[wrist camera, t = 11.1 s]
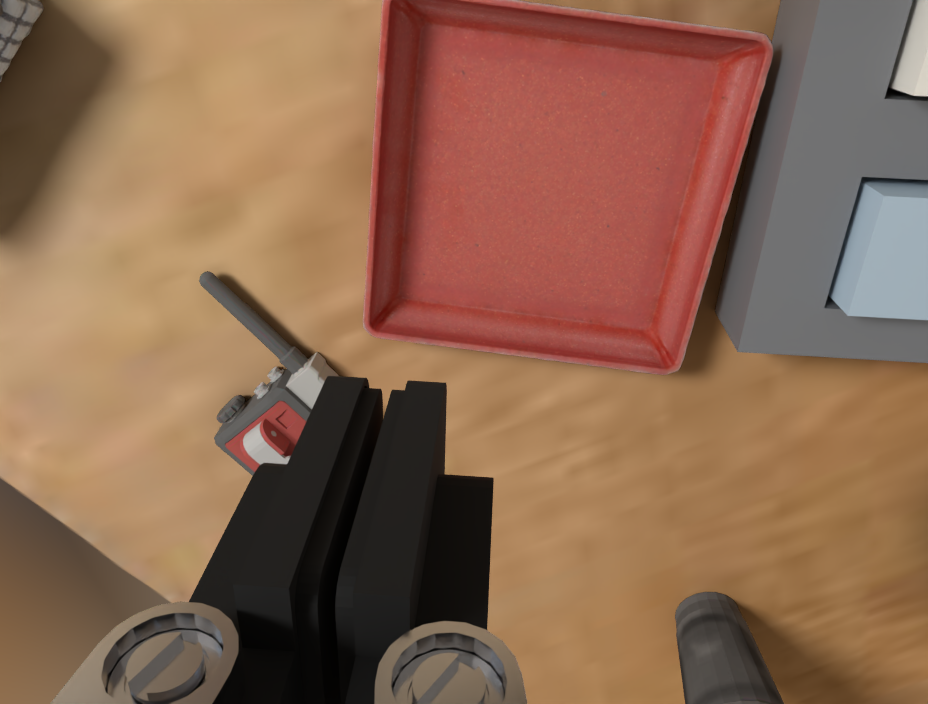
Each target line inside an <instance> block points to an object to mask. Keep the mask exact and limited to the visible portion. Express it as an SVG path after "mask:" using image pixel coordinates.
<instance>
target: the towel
mask: <svg viewBox="0 0 928 704" xmlns="http://www.w3.org/2000/svg"><path fill="white" fill-rule="evenodd" d="M42 12H43V4H42V3H41V2H40V1H38V0H0V82H1V80H2V75H3V73H4V72H5V71H6V70H7V69H8V67H9V65H10V62H11V59H12V58H13V57H14V55H15V54H16V52H17V51H18V48H19V47H20V45H21V43H22V40H23V39H24V38H25V37H26V36H28V35H29V34H30V32H31V29H32V26H33V24H34V22H35V21H36V20H37V19H38V18H39V16H40V15H41V13H42Z"/></svg>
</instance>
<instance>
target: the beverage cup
mask: <svg viewBox="0 0 928 704" xmlns="http://www.w3.org/2000/svg"><path fill="white" fill-rule="evenodd" d="M675 619H676V628H677V634H676V636H677V644H678V651H679V659H680V666H681V674H682V682H683V689H684V697H685V704H784V703H783V701H782V698H781V696H780V694H779V692H778V690H777V688H776V686H775V683H774V681H773V679H772V677H771V675H770V673H769V670H768V668H767V666H766V664H765V662H764V660H763V658H762V655H761V653H760V651H759V649H758V647H757V645H756V642H755V640H754V638H753V636H752V634H751V632H750V630H749V627H748V625H747V623H746V621H745V620H744V619H743V617H742V615H741V613H740V612H739V609H738V606H737V604H736V603H735V602H734V601H733V600H732V599H731V598H729V597H728V596H726V595H724V594H720V593H716V592H703V593H698V594H695V595H692V596H690V597H688V598H686V599H685V600H684V601H683V602H682V603H680V605H679V606H678V608H677V610H676V614H675Z"/></svg>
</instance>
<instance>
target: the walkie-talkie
mask: <svg viewBox="0 0 928 704" xmlns="http://www.w3.org/2000/svg"><path fill="white" fill-rule="evenodd" d="M199 282H200V284H201V286H202V287H203V288H205V289H206V290H207V291H208V292H209V293H210V294H211V295H212V296H213V297H214V298H215V299H216V300H217V301H218V302H219V303H221V304H222V305H223V306H224V307H225V308H226V309H227V310H228V311H229V312H230V313H231V314H232V315H233V316H234V317H235V318H237V319H238V320H239V321H240V322H241V323H242V324H243V325H244V326H245V327H246V328H247V329H248V330H249V331H250V332H251V333H252V334H254V335H255V336H256V337H257V338H258V339H259V340H260V341H261V342H262V343H263V344H264V345H265V346H266V347H267V348H268V349H270V350H271V351H272V352H273V353H274V354H275V355H276V356H277V357H278V358H279V359H280V363H281V364H283V365H284V366H285V367H286V368H287V369H286V370H284V369H282V370H280V369H279V368H278V367H274V368H273V369H272V370H271V371H270V372H269V374H268V377H269V378H270V379H271V381H270V383H268V384H267V385H266V384H265V383H264V382H262V383H261V384H259V385H258V386H257V387H256V389H255V391H254V393H255V395H254V396H253V397H251V398H250V399H249V400H248V401H246V402H245V398H244V397H243V396H241V395H238V396H235V397H234V398H232V399H231V400H230V401H229V402H228V403H227V404H226V405H225V406H224V407H223V408H222V409H221V411H220V412H219V413H218V415H217V420H218V421H219V422H220V423H223V424H222V426H221V428H220V429H219V431H218V432H217V434H216V435H215V437H214V439H215V442H216V445H217V446H218V447H220V448H221V449H222V450H223V451H224V452H226V453H227V454H228V455H229V456H230V457H231V458H233V459H234V460H235V461H236V462H237V463H238V464H240V465H241V466H242V467H243V468H244V469H245V470H247V471H248V472H249V473H250V474H251V475H252V476H253V475H254V473H255V471H256V470H257V468H258V467H259V465H261V464H263V463H277V464H287V463H288V461H289V459H290V457H291V455H292V452H293V450H294V448H295V446H296V443H297V441H298V439H299V437H300V435H301V432H302V430H303V428H304V426H305V424H306V421H307V419H308V417H309V415H310V413H311V410H312V408H313V406H314V404H315V402H316V399H317V397H318V395H319V393H320V391H321V388H322V386H323V384H324V382H325V380H326V378H327V376H339V375H338V374H337V373H336V372H335V371H334V370H333V369H332V368H331V367H329V366H328V365H327V364H326V360H325V359H324V358H323V357H322V356H321V355H320V354H319V353H318V352H316V353H315V354H314V355H312V356H311V357H310V358H309V359H308V358H307V357H306V356H305V355H303V354H302V353H301V352H300V351H299V350H298V349H297V348H296V347H291V346H290V345H289V344H288V343H287V342H286V341H285V340H284V339H283V338H282V337H281V336H280V335H279V334H278V333H277V332H276V331H275V330H274V329H273V328H272V327H270V326H269V325H268V324H267V323H266V322H265V321H264V320H263V319H262V318H261V317H260V316H259V315H258V314H257V313H256V312H255V311H254V310H253V309H252V308H251V307H250V306H249V305H248V304H247V303H244V302H243V301H242V300H241V299H240V298H239V297H238V296H236V295H235V294H234V293H233V292H232V291H231V290H230V289H229V288H228V287H227V286H226V285H225V284H224V283H223V282H222V281H221V280H219V279H218V278H217V277H216V276H215V275H214V274H213V273H211V272H208V271H207V272H204V273H203V274H201V276H200V280H199ZM244 402H245V403H244Z"/></svg>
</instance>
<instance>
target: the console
mask: <svg viewBox="0 0 928 704" xmlns="http://www.w3.org/2000/svg"><path fill="white" fill-rule="evenodd" d="M912 1H913V0H781V2H780V7H779V11H778V16H777V21H776V26H775V30H774V35H773V40H772V44H773V48H774V49H773V57H772V61H771V65H770V68H769V71H768V75H767V78H766V82H765V86H764V89H763V92H762V95H761V98H760V102H759V106H758V110H757V115H756V120H755V124H754V129H753V134H752V139H751V143H750V148H749V153H748V157H747V162H746V167H745V172H744V176H743V181H742V186H741V190H740V195H739V200H738V205H737V209H736V214H735V219H734V223H733V228H732V233H731V238H730V242H729V247H728V252H727V256H726V261H725V266H724V271H723V275H722V280H721V285H720V289H719V294H718V299H717V304H716V308H715V313H716V314H717V316H718V318H719V320H720V321H721V323H722V325H723V327H724V328H725V330H726V332H727V334H728V336H729V337H730V339H731V341H732V343H733V344H734V346H735V348H736V350H737V352H748V353H766V354H783V355H800V356H817V357H834V358H851V359H868V360H885V361H902V362H920V363H928V320H914V319H896V318H878V317H861V316H847V315H846V313H845V312H844V311H843V310H842V309H841V308H840V307H839V306H838V305H837V304H836V303H835V302H834V301H833V299H832V298H831V297H830V296H829V295H828V293H829V290H830V286H831V283H832V279H833V276H834V272H835V269H836V265H837V262H838V258H839V255H840V251H841V248H842V244H843V241H844V238H845V234H846V231H847V227H848V224H849V220H850V217H851V213H852V210H853V206H854V203H855V199H856V196H857V192H858V189H859V185H860V182H861V178H862V177H877V178H897V179H917V180H928V96H913V95H910V94H907V93H904V92H901V91H898V90H896V89H893V88H890V87H888V85H889V81H890V78H891V74H892V71H893V67H894V64H895V60H896V57H897V53H898V50H899V46H900V43H901V39H902V36H903V33H904V29H905V26H906V22H907V19H908V15H909V12H910V8H911V5H912Z"/></svg>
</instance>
